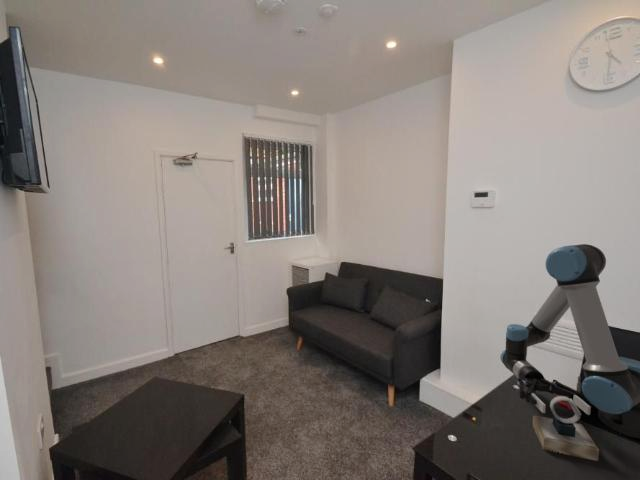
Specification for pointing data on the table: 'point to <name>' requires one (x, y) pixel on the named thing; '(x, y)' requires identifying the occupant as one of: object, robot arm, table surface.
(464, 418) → the table surface
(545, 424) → the plate
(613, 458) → the table surface
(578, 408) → the tow hook
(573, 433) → the watch
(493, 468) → the table surface
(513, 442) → the table surface
